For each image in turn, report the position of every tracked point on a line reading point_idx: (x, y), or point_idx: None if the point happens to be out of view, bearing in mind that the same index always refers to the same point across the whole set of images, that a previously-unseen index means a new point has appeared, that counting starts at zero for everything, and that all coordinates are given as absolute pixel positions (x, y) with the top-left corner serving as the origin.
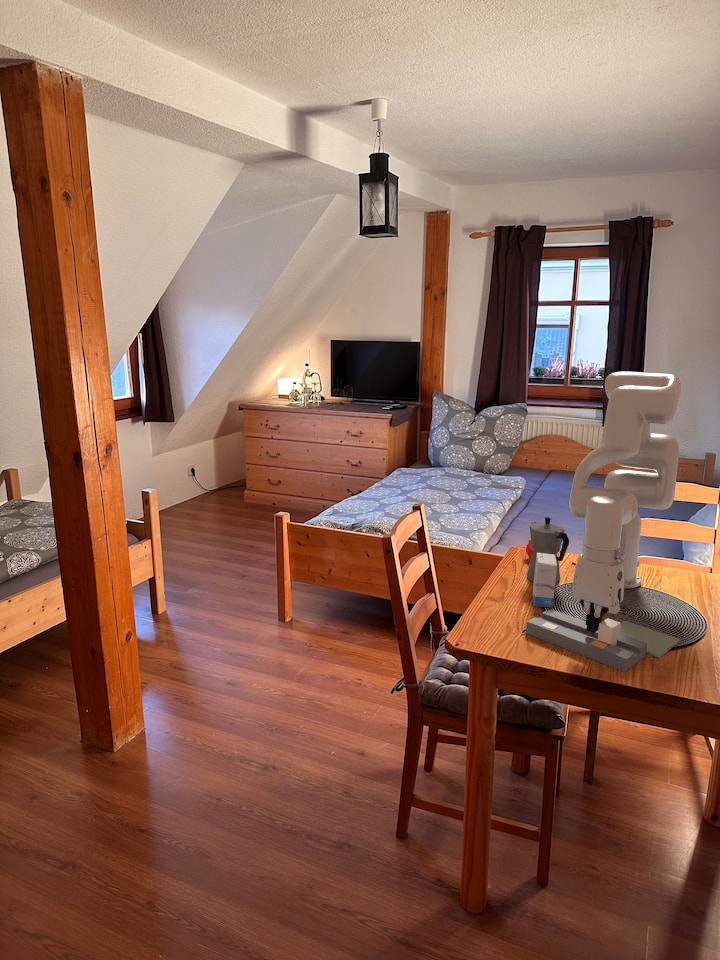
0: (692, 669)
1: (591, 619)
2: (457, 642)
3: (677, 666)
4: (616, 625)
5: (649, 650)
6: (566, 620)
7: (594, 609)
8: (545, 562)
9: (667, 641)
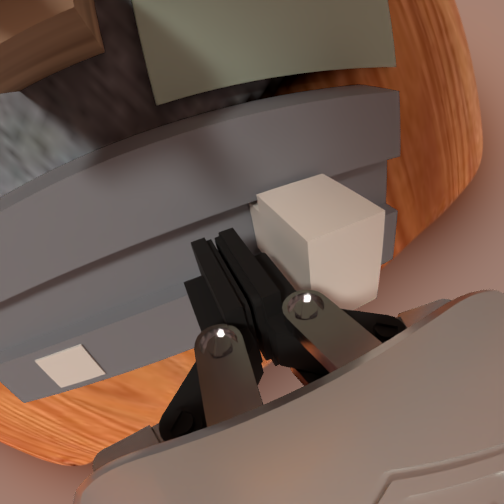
0: (449, 62)
1: (260, 347)
2: (67, 463)
3: (429, 75)
4: (380, 258)
5: (362, 54)
6: (24, 275)
7: (252, 350)
8: None
9: None
